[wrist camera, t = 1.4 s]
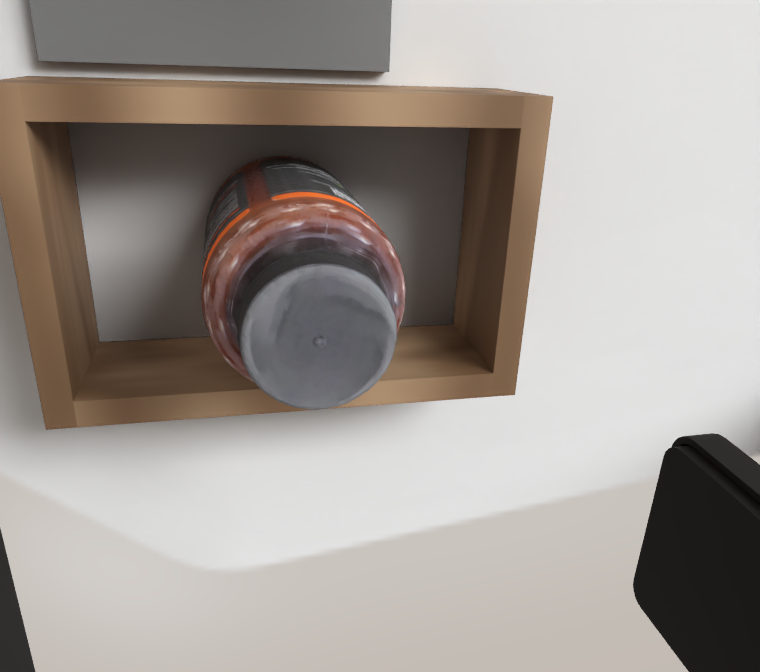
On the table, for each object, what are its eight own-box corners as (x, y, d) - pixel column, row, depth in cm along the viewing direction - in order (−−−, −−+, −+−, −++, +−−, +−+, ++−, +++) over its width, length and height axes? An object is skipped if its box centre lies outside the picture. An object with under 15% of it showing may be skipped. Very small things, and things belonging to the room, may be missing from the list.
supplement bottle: (209, 300, 27) (197, 452, 17) (202, 150, 25) (184, 221, 14) (353, 298, 28) (423, 438, 18) (360, 155, 26) (444, 224, 16)
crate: (497, 88, 26) (553, 96, 21) (472, 343, 30) (514, 394, 26) (28, 75, 22) (-22, 82, 18) (76, 365, 27) (45, 429, 22)
